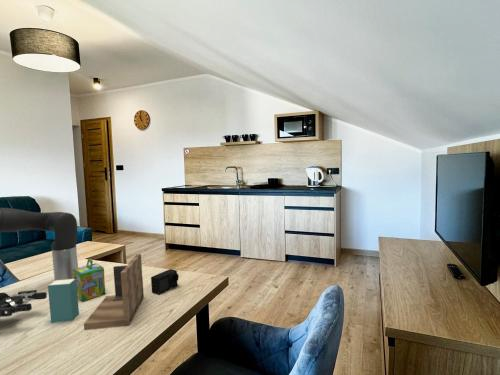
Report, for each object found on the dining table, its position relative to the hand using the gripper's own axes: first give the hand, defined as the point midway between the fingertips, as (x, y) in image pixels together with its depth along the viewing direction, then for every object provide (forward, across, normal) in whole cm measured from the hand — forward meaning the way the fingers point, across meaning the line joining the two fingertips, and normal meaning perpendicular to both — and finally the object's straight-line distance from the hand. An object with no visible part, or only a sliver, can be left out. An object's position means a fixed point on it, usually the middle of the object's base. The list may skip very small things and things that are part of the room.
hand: (38, 300), depth 99 cm
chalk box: (+9, +18, +7) cm, 21 cm away
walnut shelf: (+25, +1, +7) cm, 26 cm away
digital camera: (+40, +17, +7) cm, 44 cm away
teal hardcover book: (+8, 0, +7) cm, 11 cm away
